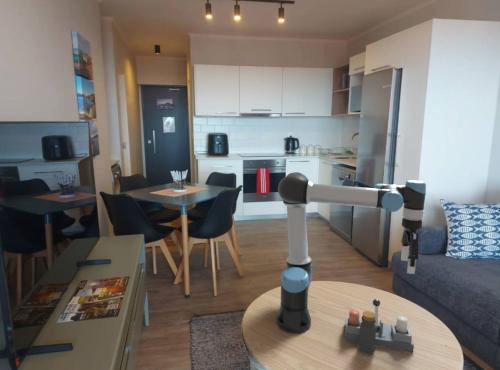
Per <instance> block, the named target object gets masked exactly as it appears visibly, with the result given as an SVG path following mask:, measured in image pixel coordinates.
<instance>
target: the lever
mask: <svg viewBox="0 0 500 370" xmlns="http://www.w3.org/2000/svg"><path fill="white" fill-rule="evenodd" d="M372 305H373V306H374V314H375V315H376V316H375V319H376V323H375V325H376V329H377V330H379V326H378V323H379V307H380V305H381V300H380V299H378V298H375V299H373V300H372Z"/></svg>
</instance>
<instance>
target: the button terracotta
mask: <svg viewBox="0 0 500 370" xmlns="http://www.w3.org/2000/svg"><path fill="white" fill-rule="evenodd" d="M348 312H349V315H348V318H349V324H350V325H351V326H358V325H359V319H360V316H361V313H360V311H359V310H357V309H350V310H349V311H348Z"/></svg>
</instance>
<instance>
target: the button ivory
mask: <svg viewBox="0 0 500 370" xmlns="http://www.w3.org/2000/svg"><path fill="white" fill-rule="evenodd" d="M395 323H396V324H395V325H396V331H397V332H399V333H403V334H405V333H407V326H408V323H409V319H408V318H407V317H405V316H402V315H399V316H397V317H396V321H395ZM408 327H409V326H408Z"/></svg>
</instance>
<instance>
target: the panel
mask: <svg viewBox="0 0 500 370" xmlns="http://www.w3.org/2000/svg"><path fill="white" fill-rule="evenodd" d="M344 322H345V323H344V325H345V326H344V327H345V329H344V330H345V333H344V335H345V341H346V342H350V343H356V344H359V334H360V323H361V322H362V319H360V318H359V325H358V326H351V325H350V324H349V317H345V320H344ZM378 326H379V330H377V329H376V339H375V347H379V348H380V347H381V348H387V349H393V350H400V351H404V352H405V351H406V352H414V349H415V347H414V346H415V345H414V341H413V336H412V333H411V330H410V326H407V333H405V334H403V333H399V332H397V331H396V324H393V323H390V324H389V323H384V320H383V317H380V318H379V322H378Z"/></svg>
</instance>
